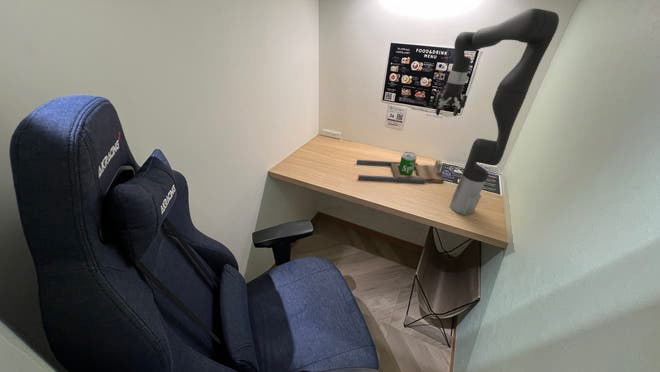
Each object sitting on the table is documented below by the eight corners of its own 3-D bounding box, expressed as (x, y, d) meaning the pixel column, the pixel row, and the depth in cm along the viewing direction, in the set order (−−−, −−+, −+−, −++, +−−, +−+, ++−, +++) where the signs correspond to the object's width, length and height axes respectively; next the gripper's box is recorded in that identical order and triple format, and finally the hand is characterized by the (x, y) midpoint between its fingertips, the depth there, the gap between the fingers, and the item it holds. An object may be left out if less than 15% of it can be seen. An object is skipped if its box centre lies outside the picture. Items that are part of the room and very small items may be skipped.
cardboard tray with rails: (435, 168, 145) (439, 156, 141) (443, 182, 134) (447, 169, 129) (390, 166, 146) (393, 153, 141) (394, 180, 134) (397, 166, 129)
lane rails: (416, 166, 147) (417, 163, 146) (424, 183, 133) (425, 179, 131) (356, 163, 147) (357, 159, 146) (358, 180, 133) (358, 176, 132)
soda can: (395, 175, 139) (400, 155, 132) (400, 169, 144) (404, 149, 137) (409, 179, 136) (415, 159, 129) (413, 173, 141) (418, 153, 134)
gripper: (468, 80, 124) (457, 113, 133) (438, 78, 124) (429, 112, 134) (474, 84, 118) (462, 118, 127) (443, 82, 118) (433, 117, 127)
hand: (445, 115), depth 130 cm, fingers open, 8 cm apart
